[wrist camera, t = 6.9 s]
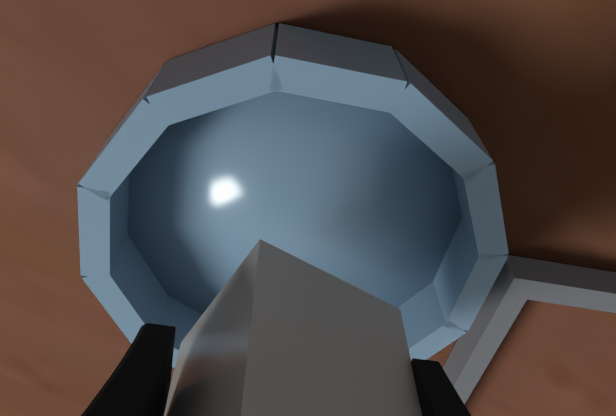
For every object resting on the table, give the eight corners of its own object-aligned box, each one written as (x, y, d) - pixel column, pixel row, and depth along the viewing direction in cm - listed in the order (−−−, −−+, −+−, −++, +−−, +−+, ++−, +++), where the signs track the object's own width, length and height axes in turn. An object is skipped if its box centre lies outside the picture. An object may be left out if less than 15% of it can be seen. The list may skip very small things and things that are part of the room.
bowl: (543, 77, 15) (583, 116, 13) (411, 357, 21) (423, 414, 19) (106, -13, 13) (70, 14, 11) (107, 316, 20) (84, 373, 18)
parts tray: (848, 310, 20) (877, 334, 19) (645, 499, 27) (658, 524, 26) (502, 254, 18) (514, 278, 17) (387, 472, 26) (391, 497, 25)
